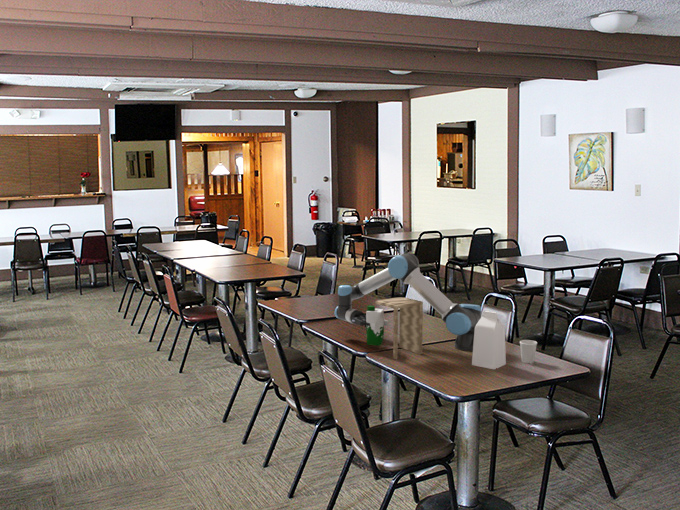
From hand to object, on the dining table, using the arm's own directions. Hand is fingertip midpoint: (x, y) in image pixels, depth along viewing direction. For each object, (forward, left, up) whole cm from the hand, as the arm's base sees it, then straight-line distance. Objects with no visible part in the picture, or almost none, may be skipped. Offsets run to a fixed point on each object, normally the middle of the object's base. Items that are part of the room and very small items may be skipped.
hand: (381, 324), depth 362 cm
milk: (-56, -7, -14) cm, 58 cm away
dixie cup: (-70, -22, -14) cm, 75 cm away
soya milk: (+5, -1, -11) cm, 12 cm away
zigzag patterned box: (-10, 0, -14) cm, 17 cm away
